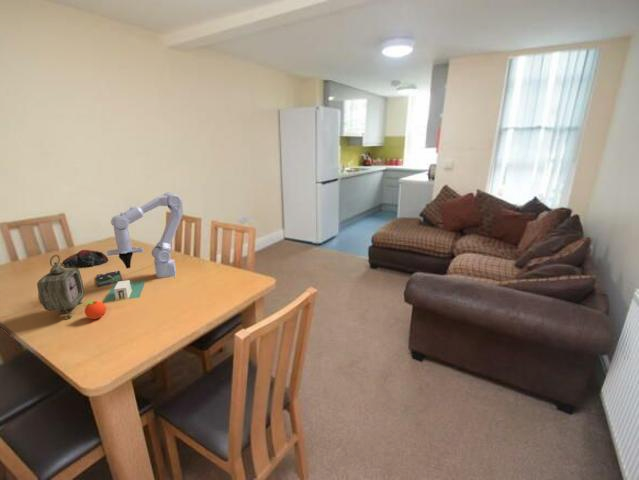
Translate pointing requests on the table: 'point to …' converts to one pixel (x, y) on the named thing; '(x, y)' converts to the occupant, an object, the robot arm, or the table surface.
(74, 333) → the table surface
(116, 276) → the disk drive
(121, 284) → the block
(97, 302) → the clementine
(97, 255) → the drone shell
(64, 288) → the tabletop clock
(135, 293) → the pin board
